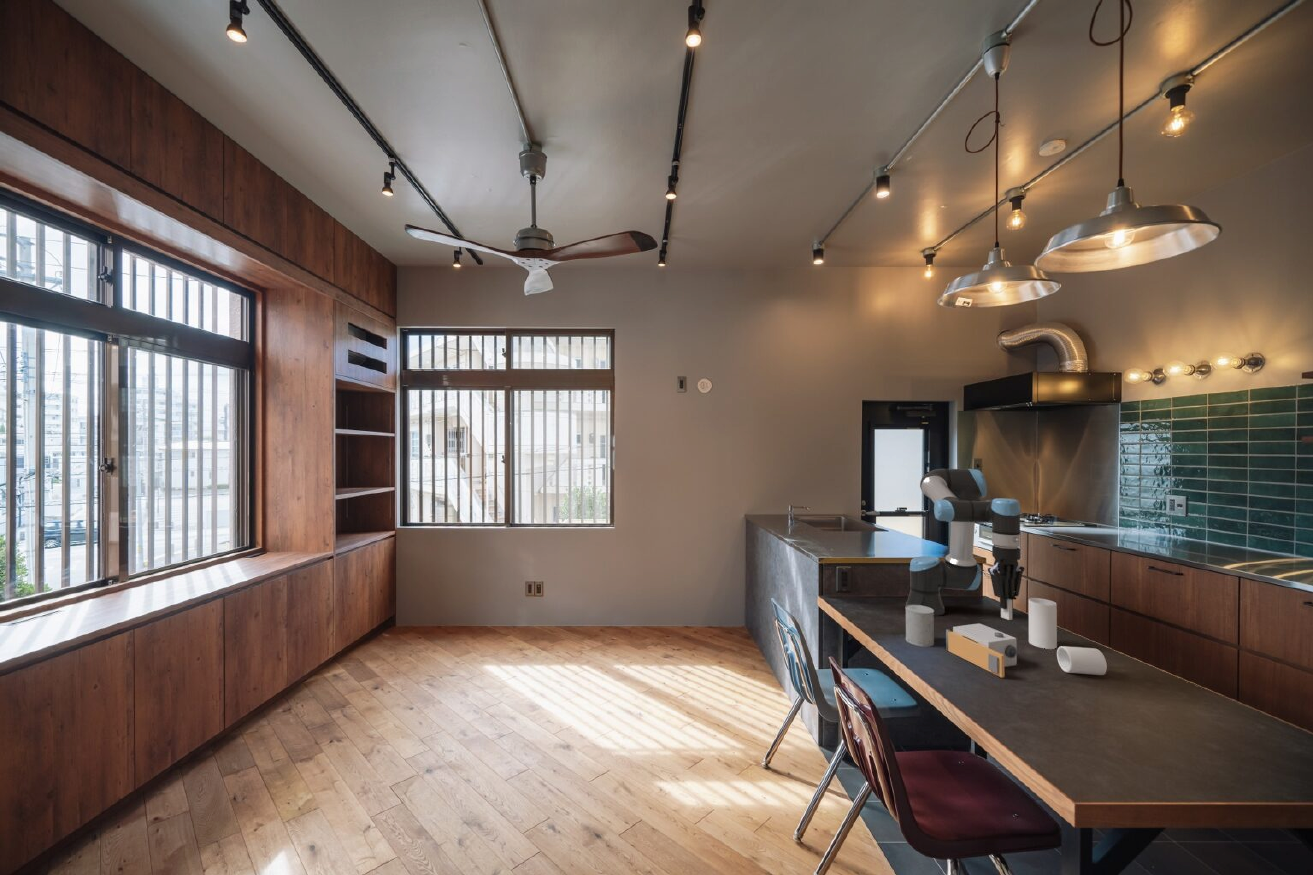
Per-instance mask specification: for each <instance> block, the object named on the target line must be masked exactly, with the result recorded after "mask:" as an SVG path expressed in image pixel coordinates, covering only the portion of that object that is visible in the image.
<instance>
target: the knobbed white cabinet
mask: <svg viewBox="0 0 1313 875" xmlns="http://www.w3.org/2000/svg"><path fill="white" fill-rule="evenodd" d="M952 632H954V633H956V634H958V635H960V636H963V637H965V638H967V639H969V640H971V641H974V642H976V643H978V644H980V645H983V646H985V647H987V648H989V649H991V650H994V651H996V652H998V653H1000V654H1003V655H1004V668H1005V667H1012V666H1017V637H1014V636H1012V635H1009V634H1007V633H1004V632H1002V631H1000V630H997V629H994V628H993V627H989V626H987V625H984V624H982V623H979V622H978V623H972V624H965V625H964V624H963V625H957V626H953V627H952Z"/></svg>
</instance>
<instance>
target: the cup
mask: <svg viewBox="0 0 1313 875" xmlns="http://www.w3.org/2000/svg"><path fill="white" fill-rule="evenodd" d="M1057 605H1058V604H1057V603H1056V602H1055V601H1054V600H1050V599H1047V598H1040V597H1030V598H1028V643H1029V644H1030V645H1031V646H1035V647H1037V648H1040V649H1044V648H1045V649H1047V650H1055V648H1056V649H1058V640H1057V639H1058V638H1057V637H1058V634H1057V632H1058V627H1057V626H1058V624H1057V622H1058V620H1057V618H1058V615H1057V614H1058V613H1057V612H1058V611H1057V610H1058V609H1057V608H1058V607H1057Z"/></svg>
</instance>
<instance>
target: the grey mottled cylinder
mask: <svg viewBox="0 0 1313 875" xmlns="http://www.w3.org/2000/svg"><path fill="white" fill-rule="evenodd" d="M934 622H935V616H934V610H933V609H931V608H929V607H926V606H922V605H907V606H906V605H905V640H906V642H907V643H909V644H911V645H912V646H913V645H914V646H917V647H922V648H923V647H925V648H926V647H927V648H930V647H933V646H934V645H935V632H934V631H935V629H934V628H935V623H934Z"/></svg>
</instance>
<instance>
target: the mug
mask: <svg viewBox="0 0 1313 875" xmlns="http://www.w3.org/2000/svg"><path fill="white" fill-rule="evenodd" d="M1056 657H1057V658H1056V659H1057V662H1058V665H1059V667H1060V668H1061V670H1062V671H1064V673H1068V674H1079V675H1080V674H1082V675H1094V676H1104V675H1105V674H1106V673H1107V669H1108V666H1107V665H1108V664H1107V661H1106V657H1105V656H1104V654H1103V653H1102V652H1101V650H1099V649H1097V648H1095V647H1093V648H1092V647H1081V646H1066V645H1063V646H1062V645H1060V646H1059V647H1057V650H1056Z"/></svg>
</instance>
